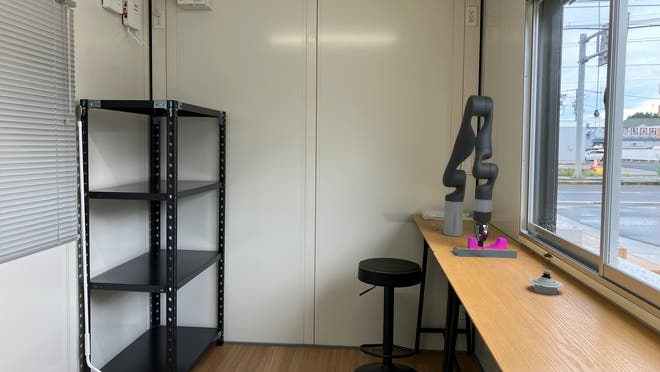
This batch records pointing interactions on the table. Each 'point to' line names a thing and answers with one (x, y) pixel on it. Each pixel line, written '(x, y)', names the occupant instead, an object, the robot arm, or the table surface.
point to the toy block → (499, 244)
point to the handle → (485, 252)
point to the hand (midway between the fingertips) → (480, 249)
